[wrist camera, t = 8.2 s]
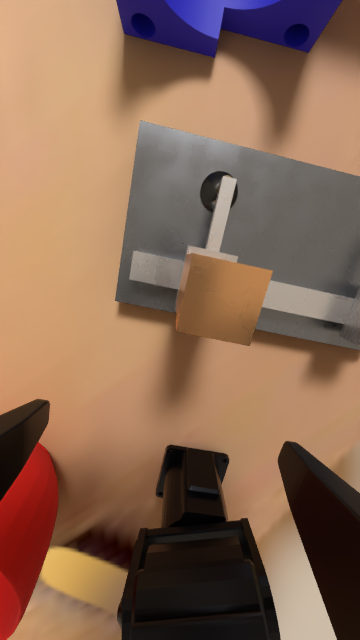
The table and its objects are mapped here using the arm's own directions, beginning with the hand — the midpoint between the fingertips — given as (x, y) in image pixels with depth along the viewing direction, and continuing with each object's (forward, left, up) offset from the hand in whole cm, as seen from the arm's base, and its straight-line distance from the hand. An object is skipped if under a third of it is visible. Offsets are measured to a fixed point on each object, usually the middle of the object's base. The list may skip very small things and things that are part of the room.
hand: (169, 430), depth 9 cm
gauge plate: (+8, -6, -12) cm, 16 cm away
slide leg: (+7, -1, -10) cm, 12 cm away
